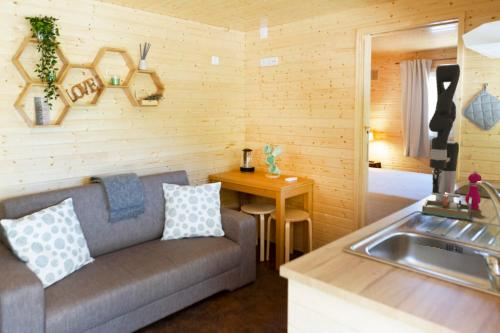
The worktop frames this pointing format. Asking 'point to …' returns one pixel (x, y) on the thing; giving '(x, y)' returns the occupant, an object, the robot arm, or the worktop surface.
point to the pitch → (438, 209)
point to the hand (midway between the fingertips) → (435, 191)
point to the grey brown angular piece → (445, 196)
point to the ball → (452, 206)
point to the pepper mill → (473, 191)
